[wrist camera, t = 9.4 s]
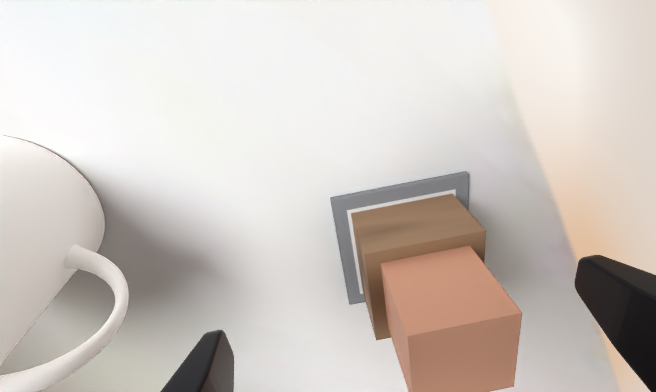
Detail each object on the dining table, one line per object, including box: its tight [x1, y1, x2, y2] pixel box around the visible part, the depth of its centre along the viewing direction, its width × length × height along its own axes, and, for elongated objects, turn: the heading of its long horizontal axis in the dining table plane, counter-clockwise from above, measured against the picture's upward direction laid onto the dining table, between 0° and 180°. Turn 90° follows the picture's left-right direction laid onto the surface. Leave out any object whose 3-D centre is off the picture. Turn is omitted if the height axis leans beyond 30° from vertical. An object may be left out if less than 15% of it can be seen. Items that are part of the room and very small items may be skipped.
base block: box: [351, 194, 486, 340], centre depth 21 cm, size 6×6×4 cm
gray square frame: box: [330, 171, 469, 305], centre depth 23 cm, size 8×8×1 cm
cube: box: [380, 246, 522, 392], centre depth 17 cm, size 4×4×4 cm
